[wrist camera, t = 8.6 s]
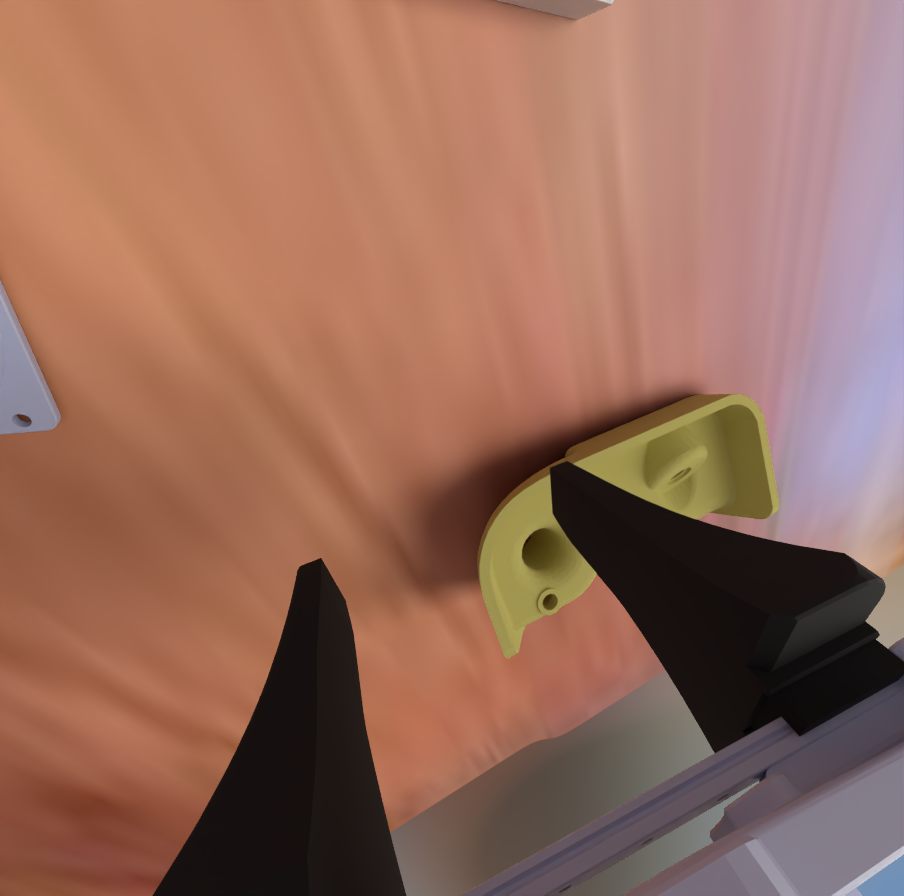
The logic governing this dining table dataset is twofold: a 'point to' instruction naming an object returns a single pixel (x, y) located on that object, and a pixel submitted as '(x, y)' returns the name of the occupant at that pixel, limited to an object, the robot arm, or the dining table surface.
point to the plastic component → (638, 472)
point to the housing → (563, 6)
